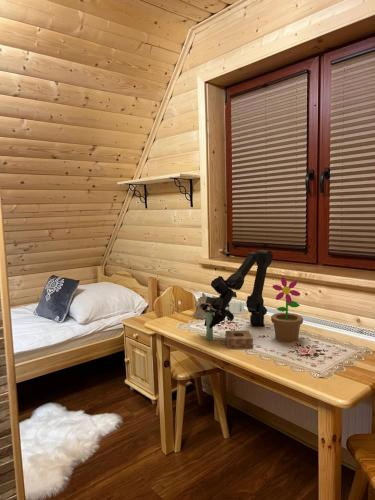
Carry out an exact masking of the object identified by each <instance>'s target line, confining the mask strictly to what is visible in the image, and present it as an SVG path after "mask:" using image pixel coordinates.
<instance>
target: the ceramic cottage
mask: <svg viewBox="0 0 375 500" xmlns="http://www.w3.org/2000/svg"><path fill="white" fill-rule="evenodd" d="M207 296H208V295H206V293H205V292H202V294H201V296H199V297H198V298H197V300H195V302H194V303H195V304H194V306H195V311H194V314H193V316H194V317H195V318H196V319H198V320H205V319H206V313H205V312H204V311H203V310H202V309H201V308H200V305H201V304H202V303H205V302H206V299H207ZM216 297H217V296H216V295H212V298H216ZM205 304H208V305H209V306H210V304H209V303H205ZM210 307H211V306H210ZM211 308H212V307H211ZM214 314H215V313H213V315H214Z"/></svg>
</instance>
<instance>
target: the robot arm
mask: <svg viewBox="0 0 375 500" xmlns="http://www.w3.org/2000/svg"><path fill="white" fill-rule="evenodd" d="M273 258H274V255H273V252H272V250H271V251H270V250H262V249H260V250H258V251H252V252H251V251H250V252H248V253H247V256H246V258H245V259H244V260H243V262H242V263H241V264H240V266H239V267H238V269H237V270H236V271H235V272H234V273H231V274H230V275H229V276H228V277H227V278H226V279H224V277H223V276H220V275H219V276H217V277H216V278H214V279H213V280H211V282H210V286H211V288H212V289H213V290H214V291H215V292H216V293H217V294H219V296H216V298H212V297H211V296H208V295H206V296H207V299H206V302H205V303H209V304H210V306H211V307H212V308H211V307H210V306H209V305H208V304H205V303H202V304H201V305H200V308H201V309H202V310H203V311H204V312H205V313H206V312H212V313H215V314H214V315H213V320H212V322H211V323H210V326H209V328H212V327H213V328H214V327H215V326H216V325H218V324H220V323H222V322H225V321H226V320H227V321H228V322H233V320H234V318H235V316H234V315H235V314H232V313H231V312H230V311H229V310H226V307H229V306H230V305H229V303H231V301H232V300H233V298H237V297H238V296H237V292H236V291H239V290H241V289H242V287H243V285H244V283H245V278H246V276H247V275H248V273H249V272H250V270H252V267H254V265H255V264H256V265H257V267H256V272H255V277H254V278H255V279H254V283H253V287H252V293H251V294H250V295H247V297H246V302H245V304H246V305H245V307H246V308H247V313H250V315H249V324H250V325H251V326H252V327H265V315H267V312H268V309H267V308H266V307H265V305H264V302H265V301H264V297H263V291H264V287H265V281H266V276H267V269H268V267H270V266H271V264H272V261H273ZM234 290H235V291H234ZM204 320H205V321H204V325H203V326H204V327H206V319H204Z"/></svg>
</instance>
